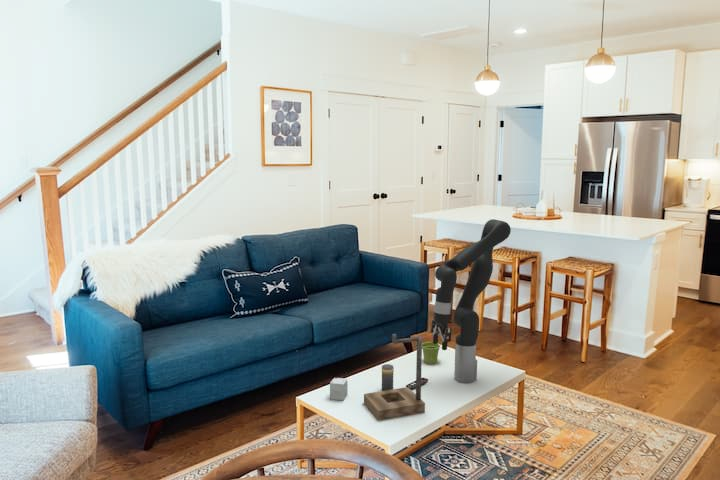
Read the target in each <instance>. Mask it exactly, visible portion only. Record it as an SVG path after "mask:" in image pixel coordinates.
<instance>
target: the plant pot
mask: <svg viewBox="0 0 720 480" xmlns="http://www.w3.org/2000/svg"><path fill="white" fill-rule="evenodd" d="M440 348H441V344H440V343H439V342H438V343H437V344H433V341H432V342H430V341H429V342H422V356H423V361H424V363H425V364H427V365H434V364H437V362H438V355H439V351H440Z"/></svg>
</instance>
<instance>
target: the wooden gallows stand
mask: <svg viewBox="0 0 720 480" xmlns="http://www.w3.org/2000/svg"><path fill="white" fill-rule="evenodd" d="M391 341H392V343H393V344H394V345H396V344H397V345H398V344H404V343H405V344H407V343H412V342H414V343H415V342H416V367H415V368H416V369H415V370H416V373H415V376H416V377H415V392H414V391H413V390H412V389H410V387H409V386H407V387H406V386H404V387H400V388H399V387H398V388H393V389H392V390H386V391H382V390H381V391H374V392H368V393H364V394H363V404H364V405H365V406H366V407H367V409H368V410H369V411H370V412H371V414H372V415H373V416H374V418H376V420H378V421H379V422H380V421H382V420H383V421H384V420H390V419H394V418H401V417H406V416H407V417H408V416H411V415H412V416H413V415H417V414H423V413H424V414H425V411H426V402H425V401H424V400H423V399H422V362H423V359H422V357H423V349H422V344H423V337H422V336H414V337H406V338H398V339H397V334H396V333H392V334H391Z"/></svg>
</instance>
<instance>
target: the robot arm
mask: <svg viewBox="0 0 720 480" xmlns="http://www.w3.org/2000/svg"><path fill="white" fill-rule="evenodd" d="M511 233H512V232H511V226H510V224H509V223H508V222H506V221H504V220H500V219H489V220H488V221H487V222H485V224H484V225H483V229H482V233H481V236H480V240H478V241H476V242H474V243H472V244H469V245H467V246H466V247H464V248H463V249H461V251H459V253H457V254H456V255H455V256H454V257H453V258H450V259H449V260H447V261H445V262H443V263H442V264H440V265H439V266H438V267H437V268H436V270H435V272H434V277H435V279H436V280H438V281H439V282H441V284H440V287H438V288H437V289H436V293H435V302H434V309H433V319H432V320H431V326H430V333H431V334H432V336H433V337H432V342H433V344H437V343H438V344H439V336H440V338H441V340H442V342H441V350H442V351H447V349H448V343H450V342H452V328H451V327H448V326H449V324H450V323H451V319H452V317H453V323H454V324H455V325H456V326H458V327H460V332H459V334H458V335H456V337H455V346H454V347H455V348H454V374H453V375H454V380H455V381H456V382H458V383H462V384H463V383H464V384H470V383H473V382H475V381H478V380H477V378H478V360H477V357H476V356H477V354H476V353H477V351H476V350H477V340H478V339H479V333H480V332H479V331H480V316H479V314H478V313H477V312H476V311H475V310H473V309H474V305H475V303H476V300H477V298H478V297H479V296H480V294H482V293H483V291H484V290H485V289H486V288H487V286H488V285H489V283H490V280H491V277H492V274H493V271H494V268H493V267H494V265H493V264H494V262H493V252H494V248H495V247H496V246H498V245H499V244H501V243H503V242H504V241H506V240H507V239H508V238H509V237H510V235H511ZM472 263H473V264H472ZM471 264H472V266H471V269H470V271H469V272H470V273H469V275H468V277H467V280H466V284H465V287H464V290H463V291H462V295H461V297H460V299H459V301H458V303H457V306H456V307H455V309H454V313H453V316H452V308H453V307H452V306H453V305H452V301H453V292H454V289H455V287H456V283H457V279H458V277H457V276H458V275H457V272H458V271H461V272H462V271H465V269H467V268H468V267H469V266H470V265H471Z"/></svg>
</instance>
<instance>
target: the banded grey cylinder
mask: <svg viewBox="0 0 720 480" xmlns="http://www.w3.org/2000/svg"><path fill="white" fill-rule="evenodd" d="M394 369H395V367H394V365H392V364H389V363H388V364H387V363H386V364H383V365H382V366H381V391H386V390H392V389H394Z"/></svg>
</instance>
